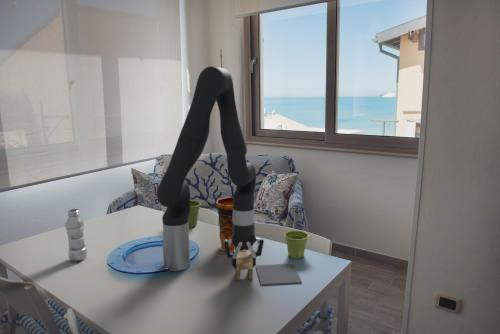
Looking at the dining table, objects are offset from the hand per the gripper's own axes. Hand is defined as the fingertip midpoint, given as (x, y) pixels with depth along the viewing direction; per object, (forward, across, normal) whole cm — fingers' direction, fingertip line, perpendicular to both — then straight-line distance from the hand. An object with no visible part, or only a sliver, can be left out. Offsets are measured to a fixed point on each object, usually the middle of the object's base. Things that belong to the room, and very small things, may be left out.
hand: (244, 267), depth 131 cm
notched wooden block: (+4, 0, 0) cm, 4 cm away
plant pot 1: (+4, -22, +55) cm, 59 cm away
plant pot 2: (+4, +22, +15) cm, 27 cm away
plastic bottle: (+4, -63, +21) cm, 67 cm away
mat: (+4, +12, 0) cm, 13 cm away
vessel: (+4, -2, +27) cm, 27 cm away
